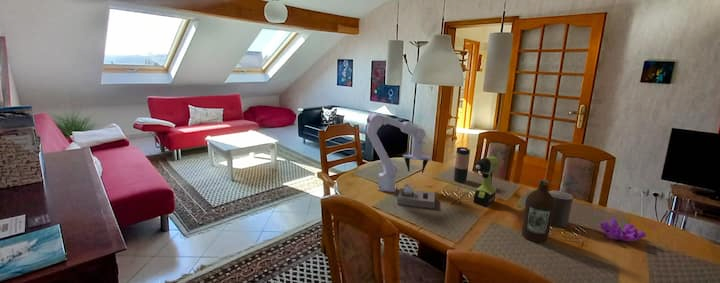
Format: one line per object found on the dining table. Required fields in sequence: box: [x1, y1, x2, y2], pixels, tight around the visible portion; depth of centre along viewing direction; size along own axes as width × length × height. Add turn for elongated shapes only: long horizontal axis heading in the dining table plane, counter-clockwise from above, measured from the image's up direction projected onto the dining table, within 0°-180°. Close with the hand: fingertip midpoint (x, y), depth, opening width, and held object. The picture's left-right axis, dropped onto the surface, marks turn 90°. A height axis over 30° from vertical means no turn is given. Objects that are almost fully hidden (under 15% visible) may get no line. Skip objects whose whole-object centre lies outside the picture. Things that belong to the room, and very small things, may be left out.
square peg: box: [403, 183, 414, 197], centre depth 164 cm, size 4×4×8 cm
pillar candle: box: [548, 190, 574, 229], centre depth 143 cm, size 10×10×15 cm
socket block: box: [396, 188, 436, 209], centre depth 163 cm, size 18×12×4 cm, turn 77°
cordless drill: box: [472, 156, 501, 208], centre depth 158 cm, size 23×7×25 cm, turn 137°
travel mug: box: [453, 146, 471, 184], centre depth 189 cm, size 8×8×20 cm
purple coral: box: [599, 219, 647, 242], centre depth 132 cm, size 11×15×10 cm
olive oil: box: [521, 179, 555, 244], centre depth 130 cm, size 11×11×25 cm
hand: (415, 171), depth 178 cm, fingers open, 7 cm apart
